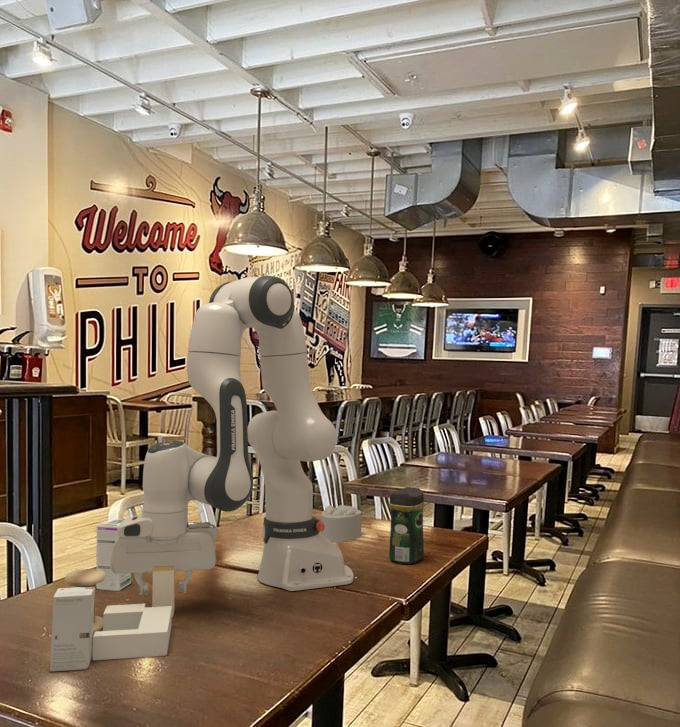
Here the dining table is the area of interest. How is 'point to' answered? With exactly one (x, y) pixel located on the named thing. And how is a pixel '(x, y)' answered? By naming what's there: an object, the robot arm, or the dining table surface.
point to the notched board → (133, 632)
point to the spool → (87, 580)
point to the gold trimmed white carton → (163, 587)
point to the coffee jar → (406, 525)
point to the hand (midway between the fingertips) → (163, 592)
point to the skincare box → (72, 628)
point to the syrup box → (109, 556)
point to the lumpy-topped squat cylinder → (341, 523)
